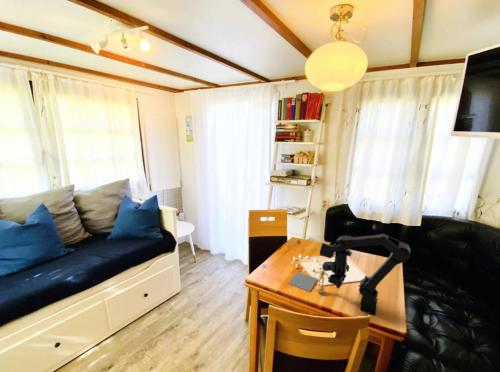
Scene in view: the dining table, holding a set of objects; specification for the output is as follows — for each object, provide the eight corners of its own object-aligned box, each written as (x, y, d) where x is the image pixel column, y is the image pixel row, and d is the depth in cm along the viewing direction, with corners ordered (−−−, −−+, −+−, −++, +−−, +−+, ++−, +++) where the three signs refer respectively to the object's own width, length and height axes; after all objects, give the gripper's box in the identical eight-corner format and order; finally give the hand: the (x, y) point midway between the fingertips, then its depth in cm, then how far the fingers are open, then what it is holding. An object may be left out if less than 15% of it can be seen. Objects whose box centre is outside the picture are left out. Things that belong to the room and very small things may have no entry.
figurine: (311, 291, 127) (312, 272, 125) (313, 286, 133) (315, 266, 130) (327, 296, 123) (328, 276, 121) (329, 290, 129) (330, 270, 126)
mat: (318, 279, 139) (318, 278, 138) (309, 292, 127) (309, 291, 127) (297, 272, 146) (297, 271, 146) (288, 283, 134) (288, 282, 134)
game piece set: (325, 273, 146) (325, 267, 146) (293, 272, 147) (293, 266, 146) (317, 257, 165) (317, 252, 165) (289, 257, 166) (289, 252, 165)
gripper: (329, 249, 131) (327, 274, 134) (319, 263, 116) (316, 291, 119) (350, 255, 125) (347, 281, 128) (342, 270, 110) (339, 300, 113)
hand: (337, 288), depth 122 cm, fingers closed
